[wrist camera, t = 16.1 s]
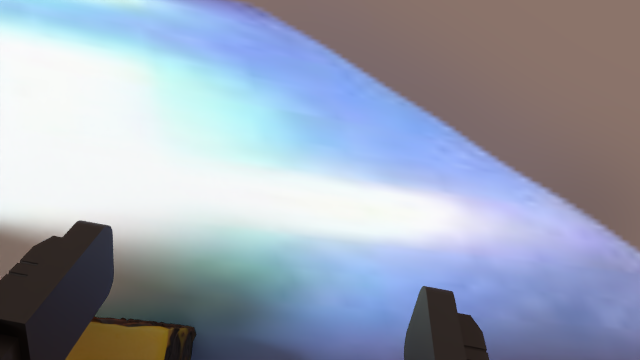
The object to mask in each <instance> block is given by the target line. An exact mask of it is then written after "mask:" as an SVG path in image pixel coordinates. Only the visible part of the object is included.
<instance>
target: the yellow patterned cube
mask: <svg viewBox="0 0 640 360" xmlns="http://www.w3.org/2000/svg"><path fill="white" fill-rule="evenodd" d="M195 336H196V332H195V328H194V327H190V326H185V325H178V324H167V323H163V322H160V323H158V322H155V321H144V320H134V319H129V320H126V319H125V318H121V319H115V318H98V317H95V316H94V317H93V319H92V320H91V322H90V323H89V325H88V326H87V328H86V329H85V331H84V332H83V334H82V335H81V337H80V338H79V340H78V341H77V343H76V344H75V346H74V347H73V349H72V350H71V352H70V353H69V355H68V356H67V358H66V359H65V360H191V353H192V345H193V340H194V338H195Z"/></svg>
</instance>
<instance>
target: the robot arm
mask: <svg viewBox="0 0 640 360" xmlns="http://www.w3.org/2000/svg"><path fill="white" fill-rule="evenodd" d="M113 277H114V264H113V234H112V229H111V227H110V226H108V225H102V224H97V223H92V222H86V221H78V222H76V223H75V224H74V225H73V226H72V228H71V229H70V230H69V231H68V232H67V233H66V234H65V235H64V236H63V237H57V236H52V237H51V238H49V239H47V240H45V241H43V242H41V243H39V244H37V245H35V246H34V247H33V248H32V249H31V250H30V251H29V252H28V253H27V254H26V255H25V256H24V257H23V258H22V259H21V260H20V263H17V264H16V265H15V266H14V267H13V268H12V269H11V270H10V271H9V274H6V275H5V276H4V277H3V278H2V279H1V280H0V360H65V359H66V358H67V356H68V355H69V353H70V352H71V350H72V349H73V347H74V346H75V344H76V343H77V341H78V340H79V338H80V337H81V335H82V334H83V332H84V331H85V329H86V328H87V326H88V325H89V323H90V322H91V320H92V319H93V317H94V316H95V314H96V313H97V311H98V310H99V308H100V307H101V305H102V304H103V302H104V301H105V299H106V298H107V296H108V294H109V292H110V289H111V286H112V282H113ZM486 350H487V349H486V345H485V341H484V336H483V332H482V331H481V329H480V328H479V327H478V325H477V324H476V322H475V321H474V320H473V318H472V317H471V315H465V314H460V313H457V308H456V303H455V298H454V294H453V292H452V291H448V290H442V289H437V288H432V287H426V286H423V287H422V288H421V290H420V292H419V295H418V298H417V301H416V305H415V308H414V311H413V314H412V317H411V320H410V323H409V326H408V329H407V333H406V338H405V345H404V360H489V357H488V353H486Z"/></svg>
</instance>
